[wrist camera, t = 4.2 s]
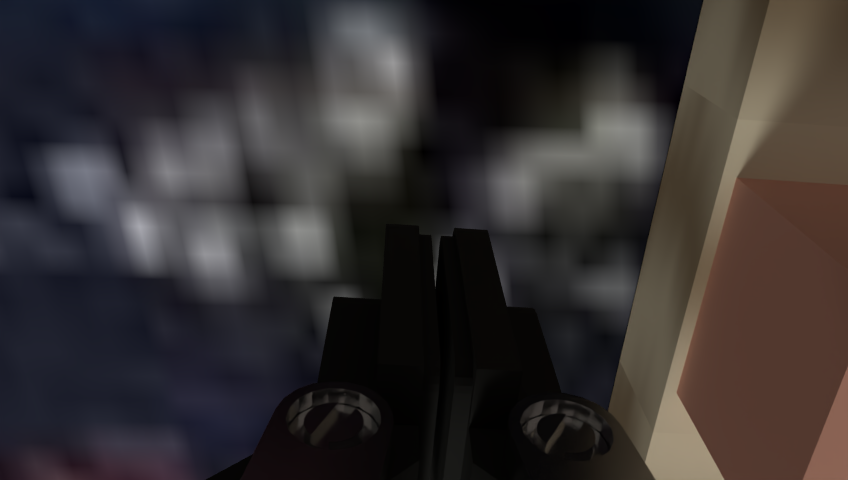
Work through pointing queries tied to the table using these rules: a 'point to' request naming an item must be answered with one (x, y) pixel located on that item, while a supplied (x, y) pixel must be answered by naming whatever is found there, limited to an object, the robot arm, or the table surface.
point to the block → (775, 336)
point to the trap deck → (725, 191)
